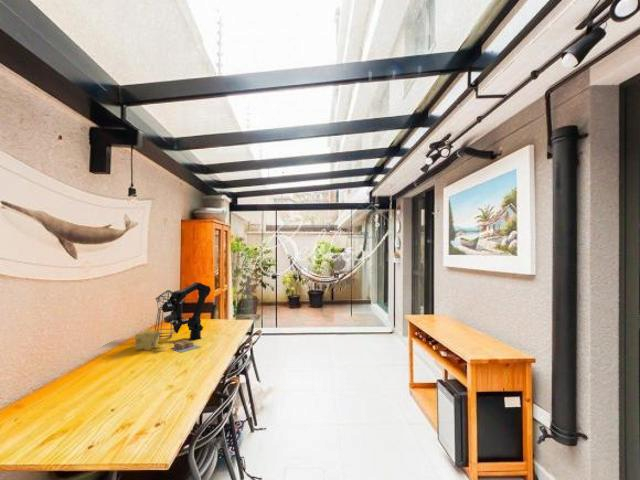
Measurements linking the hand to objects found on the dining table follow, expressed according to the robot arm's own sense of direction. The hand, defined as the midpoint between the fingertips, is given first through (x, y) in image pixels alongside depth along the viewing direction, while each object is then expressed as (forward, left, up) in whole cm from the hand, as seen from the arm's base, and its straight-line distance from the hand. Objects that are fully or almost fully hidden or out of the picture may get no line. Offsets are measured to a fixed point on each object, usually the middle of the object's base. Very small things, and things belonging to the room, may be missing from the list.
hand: (176, 333), depth 208 cm
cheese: (+14, -11, -8) cm, 20 cm away
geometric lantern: (-7, -23, -8) cm, 26 cm away
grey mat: (0, +11, -8) cm, 14 cm away
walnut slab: (0, +4, -6) cm, 7 cm away
